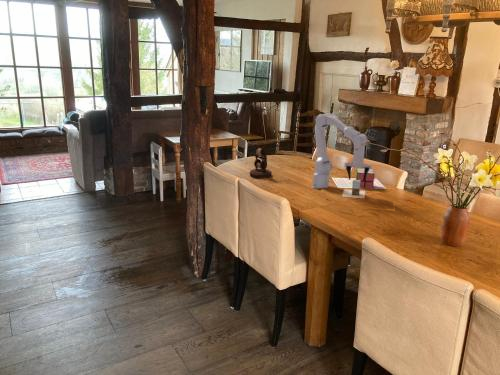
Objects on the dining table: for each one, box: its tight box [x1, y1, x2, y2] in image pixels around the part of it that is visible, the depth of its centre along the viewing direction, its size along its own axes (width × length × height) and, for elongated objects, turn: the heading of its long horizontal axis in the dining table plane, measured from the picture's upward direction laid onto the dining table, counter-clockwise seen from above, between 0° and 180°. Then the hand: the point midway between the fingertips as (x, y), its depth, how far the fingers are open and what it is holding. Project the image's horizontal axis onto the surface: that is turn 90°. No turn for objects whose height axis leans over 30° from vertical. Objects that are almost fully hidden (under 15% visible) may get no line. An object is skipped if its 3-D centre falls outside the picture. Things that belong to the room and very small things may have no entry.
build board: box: [341, 188, 366, 199], centre depth 236 cm, size 12×14×1 cm
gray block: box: [351, 179, 361, 190], centre depth 233 cm, size 4×4×4 cm
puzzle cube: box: [355, 168, 375, 189], centre depth 251 cm, size 10×10×10 cm
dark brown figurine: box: [249, 145, 273, 179], centre depth 273 cm, size 15×15×20 cm
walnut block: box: [351, 187, 361, 196], centre depth 234 cm, size 4×4×4 cm
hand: (356, 180), depth 232 cm, fingers open, 7 cm apart
